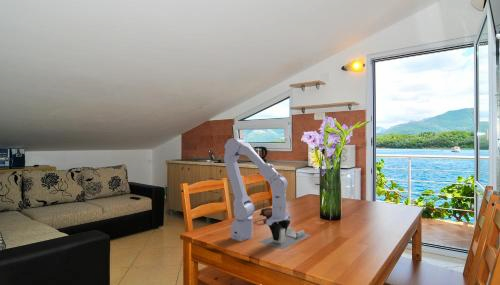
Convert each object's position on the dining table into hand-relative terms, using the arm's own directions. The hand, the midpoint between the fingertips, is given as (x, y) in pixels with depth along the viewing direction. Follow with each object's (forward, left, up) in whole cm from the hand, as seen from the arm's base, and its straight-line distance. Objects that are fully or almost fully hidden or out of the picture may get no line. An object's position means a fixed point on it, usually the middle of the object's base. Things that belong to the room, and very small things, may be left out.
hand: (279, 238), depth 124 cm
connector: (0, 0, -1) cm, 1 cm away
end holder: (+11, 0, -2) cm, 11 cm away
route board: (+5, 0, -2) cm, 5 cm away
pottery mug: (+24, +23, -2) cm, 33 cm away
